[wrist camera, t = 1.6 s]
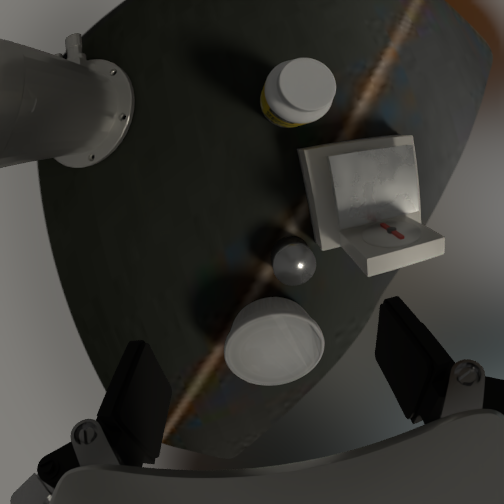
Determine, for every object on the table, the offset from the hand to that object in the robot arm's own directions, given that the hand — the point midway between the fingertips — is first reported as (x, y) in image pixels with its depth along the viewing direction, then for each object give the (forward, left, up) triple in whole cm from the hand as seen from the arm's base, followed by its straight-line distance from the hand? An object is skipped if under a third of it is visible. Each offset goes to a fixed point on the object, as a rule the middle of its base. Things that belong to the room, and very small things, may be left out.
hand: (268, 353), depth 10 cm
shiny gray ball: (+5, +3, -20) cm, 21 cm away
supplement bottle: (-11, +6, -20) cm, 24 cm away
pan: (-2, +12, -17) cm, 21 cm away
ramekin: (+14, -1, -21) cm, 25 cm away
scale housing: (-1, +12, -20) cm, 24 cm away
